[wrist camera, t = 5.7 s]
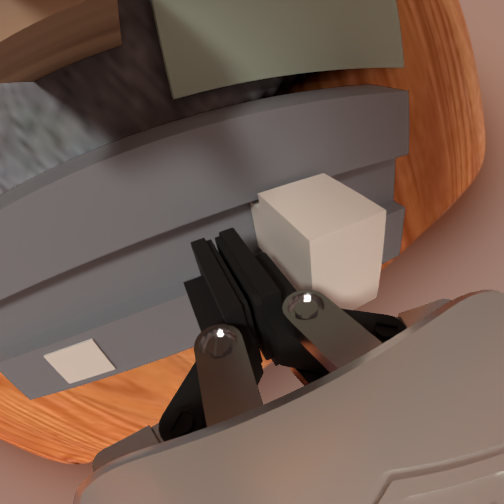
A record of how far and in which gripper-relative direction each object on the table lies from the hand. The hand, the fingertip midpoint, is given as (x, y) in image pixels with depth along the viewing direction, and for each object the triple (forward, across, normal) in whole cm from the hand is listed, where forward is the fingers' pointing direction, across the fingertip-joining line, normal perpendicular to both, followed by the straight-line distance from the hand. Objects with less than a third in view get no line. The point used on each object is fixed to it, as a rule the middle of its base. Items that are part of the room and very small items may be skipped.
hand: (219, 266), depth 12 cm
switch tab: (+2, -4, 0) cm, 4 cm away
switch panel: (+4, +1, 0) cm, 4 cm away
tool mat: (+4, -7, -12) cm, 14 cm away
